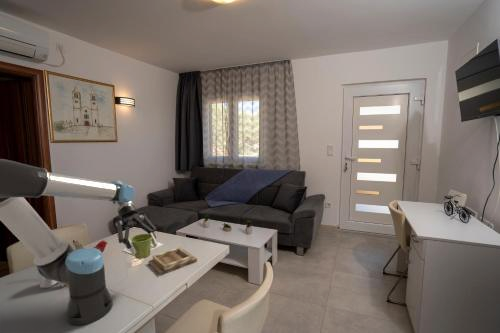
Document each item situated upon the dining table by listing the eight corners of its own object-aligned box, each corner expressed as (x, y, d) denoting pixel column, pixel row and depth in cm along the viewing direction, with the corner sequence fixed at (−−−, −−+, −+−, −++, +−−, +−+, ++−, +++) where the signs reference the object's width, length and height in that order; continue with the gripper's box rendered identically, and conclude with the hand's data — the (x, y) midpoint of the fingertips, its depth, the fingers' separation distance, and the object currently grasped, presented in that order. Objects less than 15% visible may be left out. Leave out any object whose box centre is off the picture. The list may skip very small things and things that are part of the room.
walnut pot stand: (160, 275, 122) (159, 268, 122) (148, 263, 134) (147, 257, 134) (197, 261, 135) (196, 255, 135) (183, 251, 147) (183, 246, 147)
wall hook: (60, 290, 111) (53, 268, 110) (42, 293, 113) (35, 272, 112) (76, 280, 118) (69, 260, 118) (59, 283, 121) (52, 263, 120)
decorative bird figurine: (109, 257, 143) (108, 240, 142) (71, 267, 132) (69, 249, 131) (108, 255, 145) (107, 238, 144) (71, 265, 134) (69, 247, 133)
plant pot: (143, 262, 108) (142, 242, 107) (126, 259, 111) (124, 240, 110) (158, 253, 117) (157, 235, 116) (141, 250, 120) (140, 232, 119)
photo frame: (163, 243, 158) (136, 255, 143) (163, 245, 158) (136, 257, 143) (149, 239, 166) (122, 249, 151) (149, 240, 166) (122, 251, 151)
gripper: (145, 208, 130) (164, 245, 122) (98, 219, 113) (117, 263, 105) (150, 199, 126) (170, 237, 118) (102, 209, 109) (122, 254, 101)
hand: (145, 249), depth 112 cm, fingers closed on plant pot, 9 cm apart
